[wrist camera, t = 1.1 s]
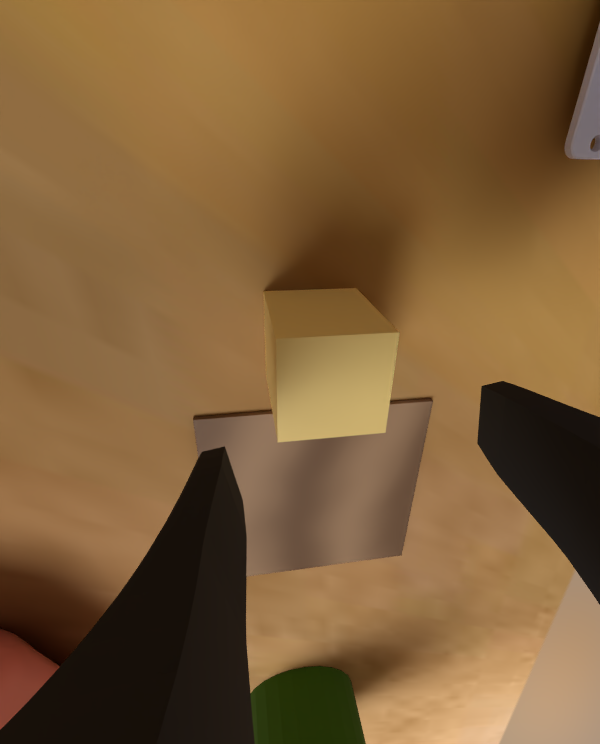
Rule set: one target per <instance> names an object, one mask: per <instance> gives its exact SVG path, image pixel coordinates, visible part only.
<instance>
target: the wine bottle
mask: <svg viewBox="0 0 600 744" xmlns="http://www.w3.org/2000/svg"><path fill="white" fill-rule="evenodd" d="M250 696H251V707H252V719H253V730H254V741H255V744H366V743H365V739H364V734H363V730H362V726H361V722H360V717H359V713H358V709H357V705H356V700H355V696H354V692H353V688H352V683H351V680H350V678H349V677H348V675H347V674H345V673H344V672H342V671H341V670H338V669H335V668H332V667H322V666H314V667H303V668H298V669H293V670H289V671H286V672H283V673H280V674H277V675H275V676H273V677H271V678H269V679H267V680H265V681H264V682H263V683H261V684H260V685H259V686H257V687H256V688H255V689H254V690H253V691H252V693H251V694H250Z"/></svg>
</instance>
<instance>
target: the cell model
mask: <svg viewBox="0 0 600 744" xmlns="http://www.w3.org/2000/svg"><path fill="white" fill-rule="evenodd" d="M59 667H60V666H59V665H57V664H56V663H55V662H53V661H52V660H50V659H48V658H47V657H45V656H44V655H42V654H41V653H39V652H38V651H37V650H36V649H34V648H33V647H32V646H31V645H29V644H28V643H27V642H26V641H24V640H23V639H22V638H20V637H19V636H17V635H16V634H14V633H11V632H8V631H5V630H3V629H0V729H1V728H2V727H3V726H4V725H5V724H6V723H7V722H8V721H9V720H10V719H11V718H12V717H13V716H14V715H15V714H16V713H17V712H18V711H19V710H20V709H21V708H22V707H23V706H24V705H25V704H26V703H27V702H28V701H29V700H30V699H31V698H32V697H33V696H34V695H35V693H36V692H37V691H38V690H39V689H40V688H41V687H42V686H43V685H44V684H45V683H46V681H47V680H48V679H49V678H50V677H51V676H52V675H53V674H54V673H55V672H56V670H57V669H58V668H59Z"/></svg>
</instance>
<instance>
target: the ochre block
mask: <svg viewBox="0 0 600 744" xmlns="http://www.w3.org/2000/svg"><path fill="white" fill-rule="evenodd" d="M263 297H264V329H265V360H266V378H267V384H268V390H269V395H270V401H271V407H272V413H273V418H274V424H275V430H276V436H277V441H278V442H289V441H300V440H311V439H322V438H333V437H344V436H355V435H366V434H378V433H385V432H386V425H387V418H388V411H389V404H390V397H391V390H392V383H393V376H394V369H395V362H396V355H397V348H398V341H399V334H400V332H399V331H398V330H397V329H396V328H395V327H394V326H393V325H392V324H391V323H390V322H389V321H388V320H387V319H386V318H385V317H384V316H383V315H382V314H381V313H380V312H379V311H378V310H377V309H376V308H375V307H374V306H373V305H372V304H371V303H370V302H369V301H368V300H367V299H366V298H365V297H364V296H363V295H362V294H361V293H360V291H359V290H358V289H357V288H342V289H312V290H283V291H263Z"/></svg>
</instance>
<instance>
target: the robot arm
mask: <svg viewBox="0 0 600 744" xmlns="http://www.w3.org/2000/svg"><path fill="white" fill-rule="evenodd" d="M593 138H595V145H594V146H593V148H592V149H590V144H591V141H592V139H593ZM564 150H565V154H566V156H567V157H568V158H571V159H600V23H599V27H598V30H597V34H596V37H595V41H594V44H593V48H592V51H591V55H590V58H589V62H588V65H587V68H586V72H585V75H584V79H583V82H582V86H581V89H580V93H579V96H578V100H577V103H576V107H575V110H574V114H573V117H572V121H571V124H570V128H569V131H568V135H567V138H566V142H565V148H564ZM478 445H479V446H480V448H481V450H482V451H483V453H484V455H485V456H486V458H487V459H488V461H489V462H490V464H491V465H492V467H493V468H494V470H495V471H496V473H497V474H498V476H499V477H500V478H501V479H502V480H503V482H504V483H505V484H506V485H507V486H508V488H509V489H510V490H511V491H512V492H513V494H514V495H515V496H516V497H517V498H518V499H519V501H520V502H521V503H522V504H523V505H524V507H525V508H526V509H527V510H528V511H529V512H530V514H531V515H532V516H533V517H534V518H535V519H536V521H537V522H538V523H539V524H540V525H541V526H542V528H543V529H544V530H545V531H546V532H547V533H548V535H549V536H550V537H551V538H552V539H553V540H554V542H555V543H556V544H557V545H558V547H559V548H560V549H561V551H562V552H563V553H564V554H565V556H566V557H567V558H568V560H569V561H570V562H571V564H572V565H573V567H574V568H575V569H576V571H577V572H578V574H579V575H580V577H581V578H582V579H583V581H584V582H585V584H586V585H587V587H588V588H589V589H590V591H591V592H592V594H593V595H594V597H595V598H596V600H597V601H598V603H599V604H600V417H597V416H595V415H592V414H589V413H587V412H584V411H581V410H579V409H576V408H573V407H571V406H568V405H566V404H563V403H560V402H558V401H555V400H553V399H550V398H548V397H545V396H543V395H540V394H537V393H535V392H532V391H530V390H527V389H524V388H522V387H519V386H516V385H513V384H510V383H507V382H504V381H501V382H497V383H493V384H488V385H484V386H482V389H481V403H480V416H479V429H478ZM246 566H247V534H246V524H245V514H244V505H243V499H242V496H241V493H240V490H239V487H238V484H237V481H236V478H235V475H234V472H233V469H232V466H231V463H230V460H229V457H228V454H227V451H226V448H225V446H224V447H220V448H216V449H211V450H207V451H203V452H202V453H201V454H200V456H199V458H198V460H197V462H196V464H195V466H194V468H193V471H192V473H191V475H190V477H189V479H188V481H187V483H186V485H185V487H184V489H183V491H182V493H181V495H180V497H179V499H178V501H177V502H176V504H175V506H174V508H173V510H172V512H171V514H170V516H169V517H168V519H167V521H166V523H165V524H164V526H163V528H162V529H161V531H160V533H159V534H158V536H157V538H156V539H155V541H154V543H153V544H152V546H151V548H150V549H149V551H148V553H147V554H146V556H145V557H144V559H143V560H142V562H141V563H140V565H139V566H138V568H137V569H136V571H135V572H134V574H133V575H132V577H131V578H130V579H129V581H128V582H127V584H126V585H125V586H124V588H123V589H122V591H121V592H120V593H119V595H118V596H117V597H116V599H115V600H114V601H113V603H112V604H111V605H110V607H109V608H108V609H107V610H106V612H105V613H104V614H103V616H102V617H101V618H100V619H99V621H98V622H97V623H96V624H95V626H94V627H93V628H92V629H91V631H90V632H89V633H88V634H87V636H86V637H85V638H84V639H83V641H82V642H81V643H80V644H79V645H78V647H77V648H76V649H75V650H74V651H73V652H72V653H71V655H70V656H69V657H68V658H67V659H66V660H65V661H64V663H63V664H62V665H61V666H60V667H59V668H58V669H57V670H56V672H55V673H54V674H53V675H52V676H51V677H50V678H49V679H48V680H47V681H46V683H45V684H44V685H43V686H42V687H41V688H40V689H39V690H38V691H37V692H36V693H35V695H34V696H33V697H32V698H31V699H30V700H29V701H28V702H27V703H26V704H25V705H24V706H23V707H22V708H21V709H20V710H19V711H18V712H17V713H16V714H15V715H14V716H13V717H12V718H11V719H10V720H9V721H8V722H7V723H6V724H5V725H4V726H3V727H2V728H1V729H0V744H255V741H254V730H253V719H252V707H251V696H250V684H249V671H248V658H247V645H246Z"/></svg>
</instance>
